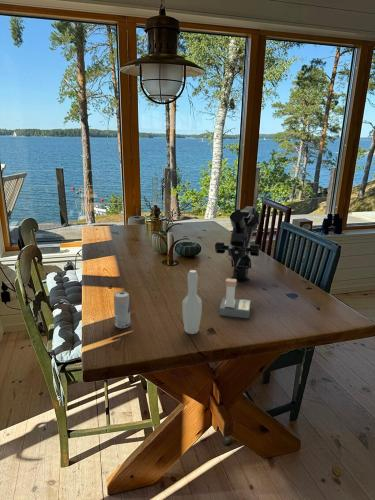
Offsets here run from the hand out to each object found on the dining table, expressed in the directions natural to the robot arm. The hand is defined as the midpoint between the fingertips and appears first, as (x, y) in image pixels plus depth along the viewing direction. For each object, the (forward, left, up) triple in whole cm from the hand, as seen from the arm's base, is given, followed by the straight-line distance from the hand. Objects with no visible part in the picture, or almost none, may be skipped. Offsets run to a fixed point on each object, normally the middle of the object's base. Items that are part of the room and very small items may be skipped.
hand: (235, 266), depth 150 cm
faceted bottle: (+31, +15, -14) cm, 37 cm away
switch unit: (+8, +11, -13) cm, 20 cm away
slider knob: (+11, +11, -10) cm, 19 cm away
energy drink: (+50, -1, -14) cm, 52 cm away
